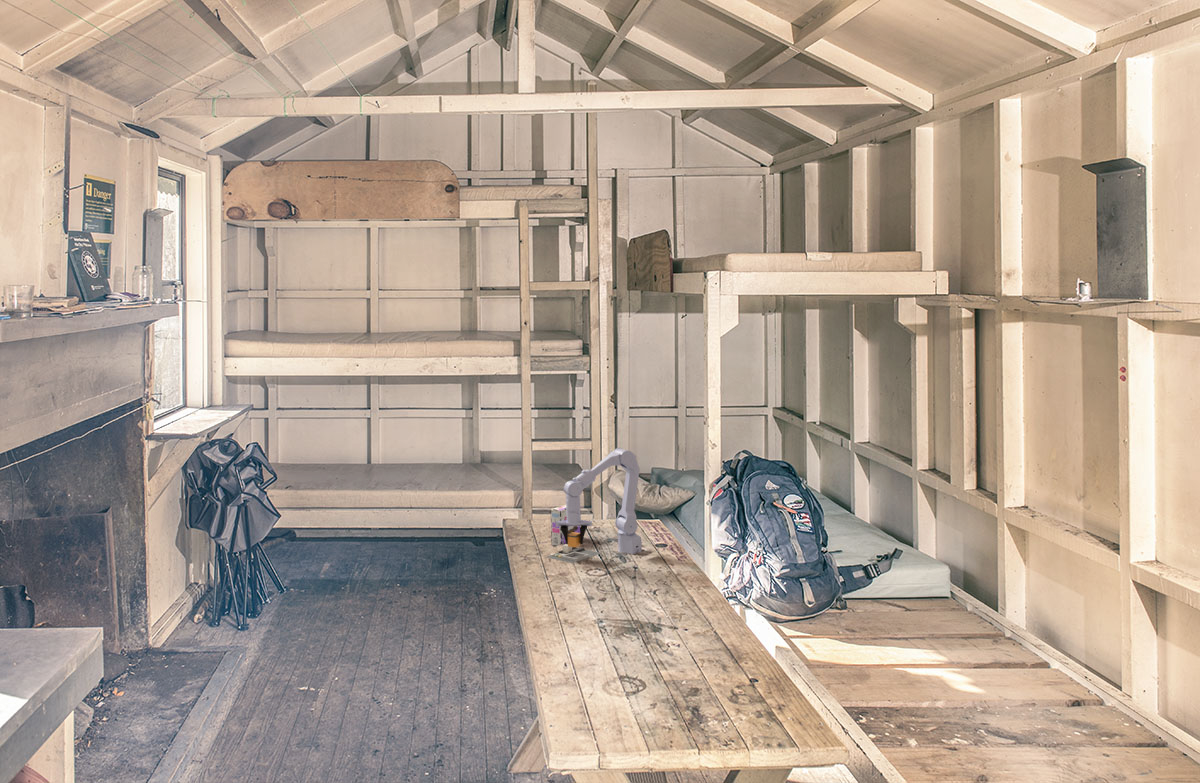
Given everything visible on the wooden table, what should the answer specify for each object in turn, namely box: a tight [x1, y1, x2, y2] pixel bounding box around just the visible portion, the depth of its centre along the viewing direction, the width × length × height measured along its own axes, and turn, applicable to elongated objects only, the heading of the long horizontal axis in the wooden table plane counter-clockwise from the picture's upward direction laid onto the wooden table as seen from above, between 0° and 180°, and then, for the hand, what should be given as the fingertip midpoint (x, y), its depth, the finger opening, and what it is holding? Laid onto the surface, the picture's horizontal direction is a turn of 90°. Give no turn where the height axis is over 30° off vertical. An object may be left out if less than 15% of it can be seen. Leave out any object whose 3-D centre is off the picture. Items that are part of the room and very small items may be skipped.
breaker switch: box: [562, 543, 572, 553], centre depth 388 cm, size 3×2×3 cm
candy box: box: [550, 504, 581, 547], centre depth 408 cm, size 14×6×16 cm, turn 143°
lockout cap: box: [567, 532, 582, 548], centre depth 379 cm, size 4×4×5 cm
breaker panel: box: [545, 547, 603, 564], centre depth 384 cm, size 16×18×3 cm
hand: (574, 543), depth 379 cm, fingers closed on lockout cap, 5 cm apart
